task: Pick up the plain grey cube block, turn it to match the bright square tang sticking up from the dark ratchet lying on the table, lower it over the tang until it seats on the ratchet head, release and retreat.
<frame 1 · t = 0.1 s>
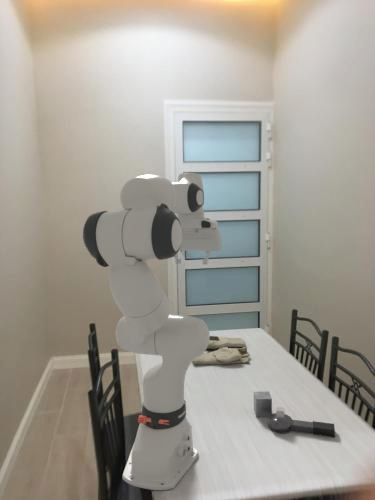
hand: (191, 263, 136), 48 cm above the table, fingers open, 8 cm apart
ratchet: (280, 426, 123), on the table
plain grey cube block: (262, 412, 131), on the table
pair of gloves: (219, 354, 184), on the table
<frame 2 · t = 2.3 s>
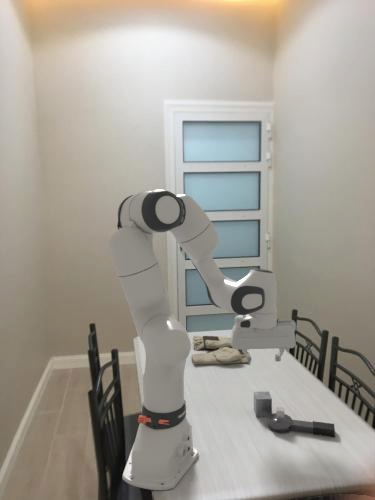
hand: (263, 361, 129), 17 cm above the table, fingers open, 8 cm apart
nothing on the table moved.
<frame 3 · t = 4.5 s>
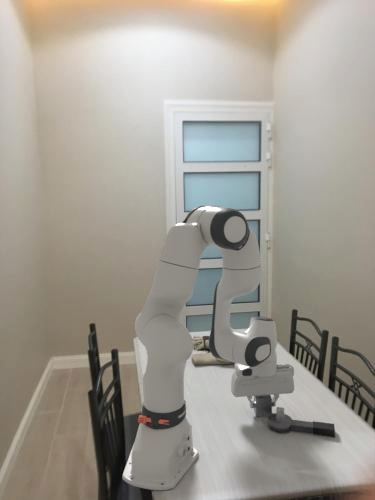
hand: (262, 406, 131), 2 cm above the table, fingers closed on plain grey cube block, 5 cm apart
plain grey cube block: (262, 412, 131), on the table, touching gripper
everything else where it was.
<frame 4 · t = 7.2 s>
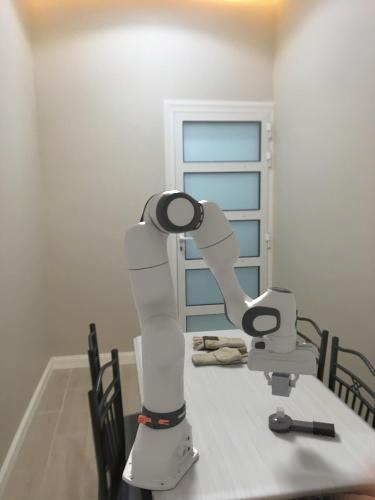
hand: (281, 385, 121), 13 cm above the table, fingers closed on plain grey cube block, 5 cm apart
plain grey cube block: (281, 392, 122), point 11 cm above the table, touching gripper
everything else where it was.
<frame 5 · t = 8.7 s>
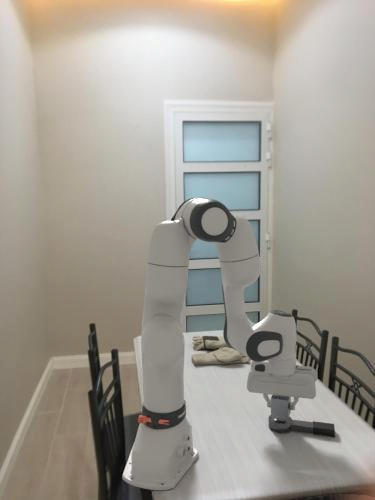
hand: (280, 407, 122), 6 cm above the table, fingers closed on plain grey cube block, 5 cm apart
plain grey cube block: (280, 414, 122), point 4 cm above the table, touching gripper
everything else where it was.
when the fingers open (5 cm above the table, at t = 10.1 s): plain grey cube block stays where it is, resting on ratchet.
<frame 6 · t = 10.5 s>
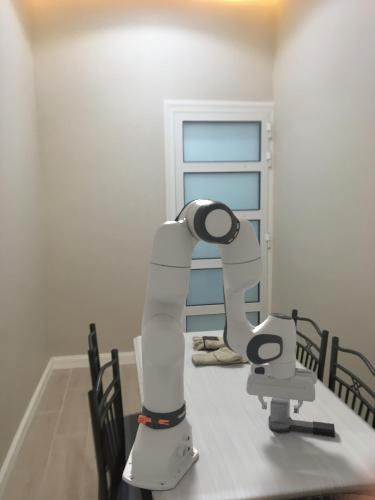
hand: (280, 410, 122), 5 cm above the table, fingers open, 8 cm apart
plain grey cube block: (280, 419, 123), point 2 cm above the table, touching ratchet
everything else where it was.
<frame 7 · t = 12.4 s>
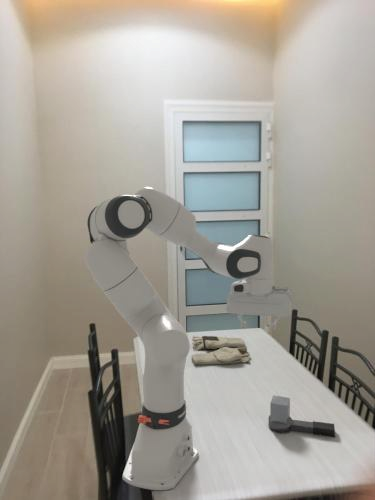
hand: (258, 328, 129), 28 cm above the table, fingers open, 8 cm apart
nothing on the table moved.
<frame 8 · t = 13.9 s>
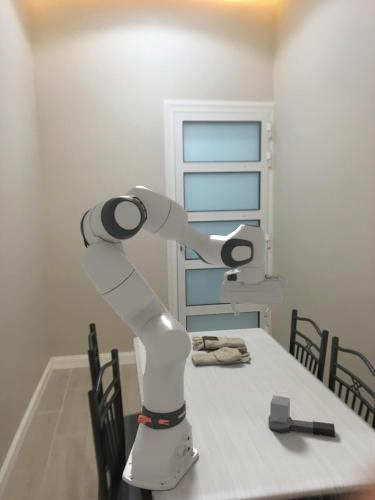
hand: (251, 316, 131), 31 cm above the table, fingers open, 8 cm apart
nothing on the table moved.
at the end: plain grey cube block 0.0 cm off-centre on the ratchet, point 2.5 cm above the ratchet's base; plain grey cube block tilted 0°; the gripper is holding nothing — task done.
